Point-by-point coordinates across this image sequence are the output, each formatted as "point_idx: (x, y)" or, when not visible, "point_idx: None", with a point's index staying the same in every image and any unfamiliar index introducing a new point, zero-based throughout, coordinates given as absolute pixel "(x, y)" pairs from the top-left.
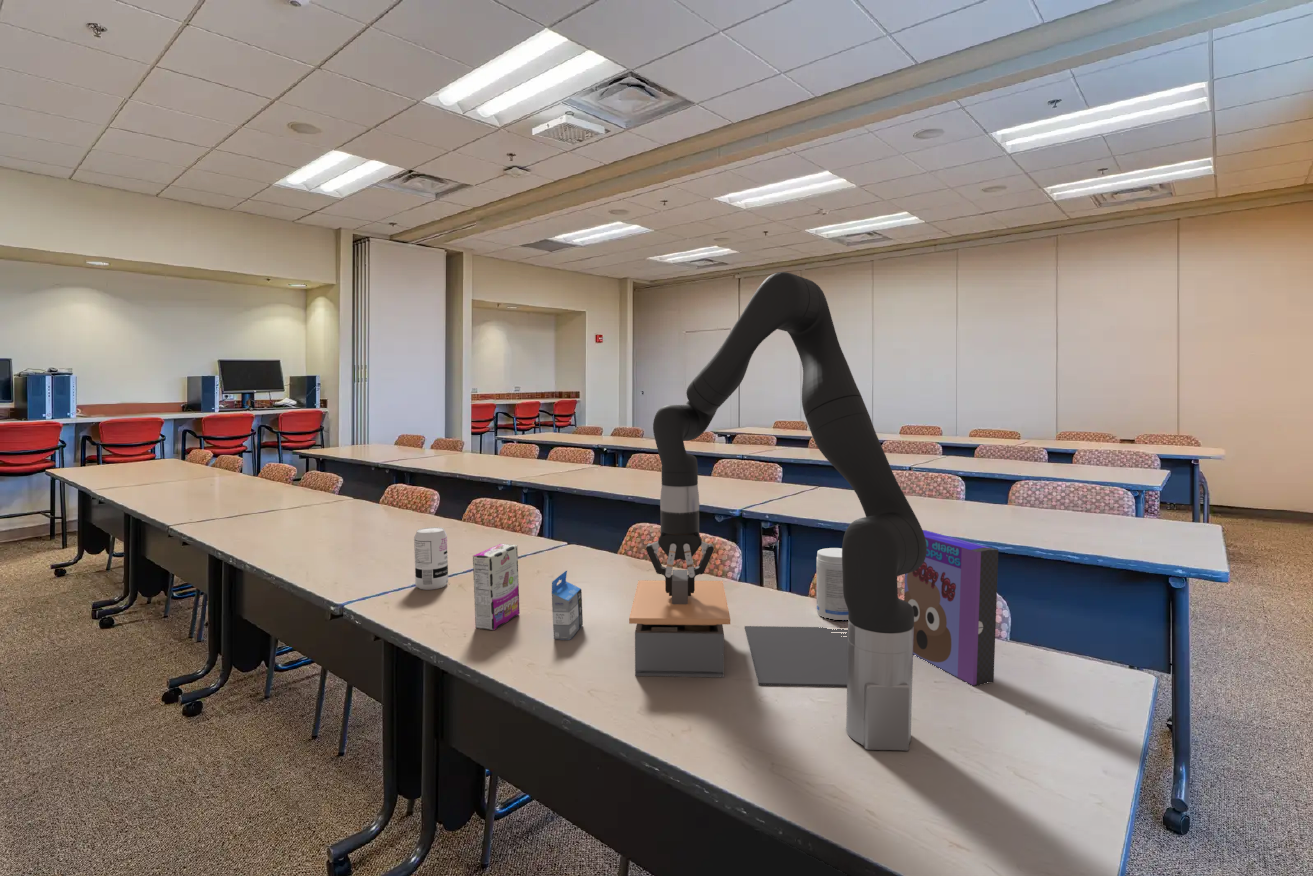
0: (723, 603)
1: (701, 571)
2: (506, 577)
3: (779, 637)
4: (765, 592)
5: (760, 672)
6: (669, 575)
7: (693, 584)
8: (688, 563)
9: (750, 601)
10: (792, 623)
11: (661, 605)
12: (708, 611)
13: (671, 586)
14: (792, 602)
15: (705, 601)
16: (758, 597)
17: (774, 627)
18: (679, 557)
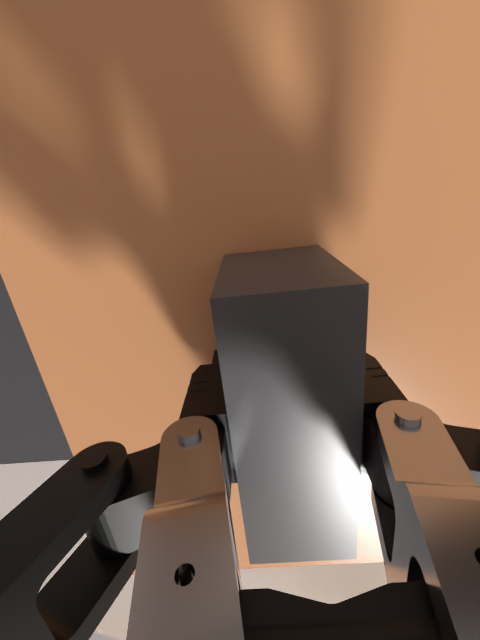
0: (29, 294)
1: (86, 459)
2: None
3: (16, 400)
4: (109, 622)
5: None
6: (392, 413)
7: (192, 396)
8: (200, 523)
9: (132, 582)
10: (14, 486)
11: (383, 212)
12: (72, 122)
13: None
14: (42, 584)
15: (133, 316)
16: (119, 600)
17: (43, 455)
18: (348, 637)
